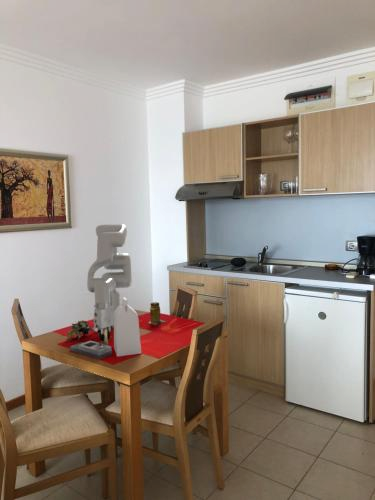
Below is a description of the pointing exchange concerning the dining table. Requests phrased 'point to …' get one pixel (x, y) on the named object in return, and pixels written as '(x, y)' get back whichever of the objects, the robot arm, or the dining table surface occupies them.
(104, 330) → the brass pin
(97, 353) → the grey long rectangular block
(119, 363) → the dining table surface
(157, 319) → the condiment
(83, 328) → the passion flower
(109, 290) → the robot arm
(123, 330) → the milk
